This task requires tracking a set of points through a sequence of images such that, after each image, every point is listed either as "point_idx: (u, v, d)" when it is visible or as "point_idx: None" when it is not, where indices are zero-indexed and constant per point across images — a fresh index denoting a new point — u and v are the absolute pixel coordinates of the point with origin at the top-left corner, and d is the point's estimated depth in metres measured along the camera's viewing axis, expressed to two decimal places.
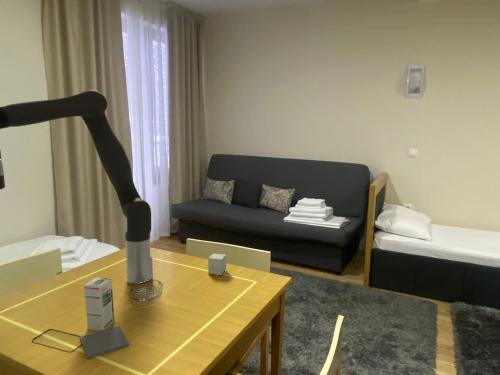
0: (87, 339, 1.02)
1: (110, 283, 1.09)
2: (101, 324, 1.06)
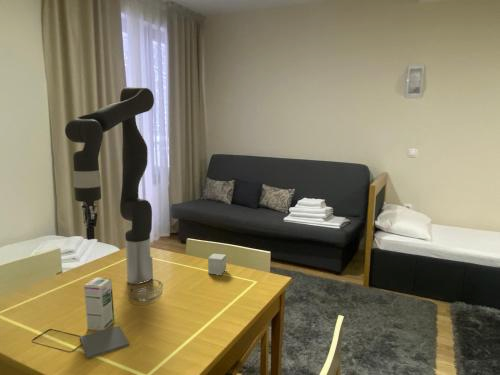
0: (87, 339, 1.02)
1: (110, 283, 1.09)
2: (101, 324, 1.06)
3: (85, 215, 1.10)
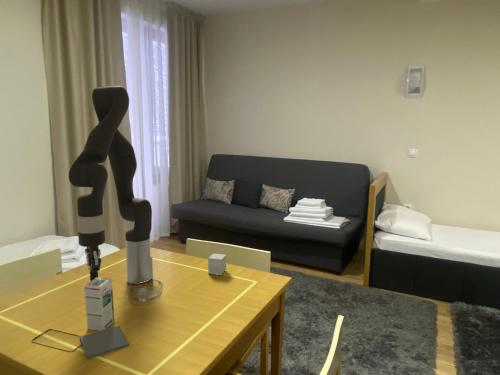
0: (87, 339, 1.02)
1: (110, 283, 1.09)
2: (101, 324, 1.06)
3: (89, 259, 1.09)
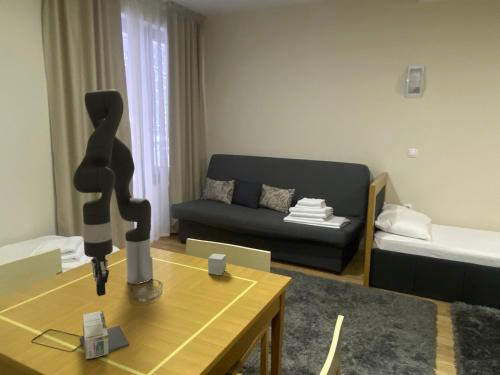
0: None
1: (107, 335, 0.95)
2: None
3: (95, 271, 1.01)
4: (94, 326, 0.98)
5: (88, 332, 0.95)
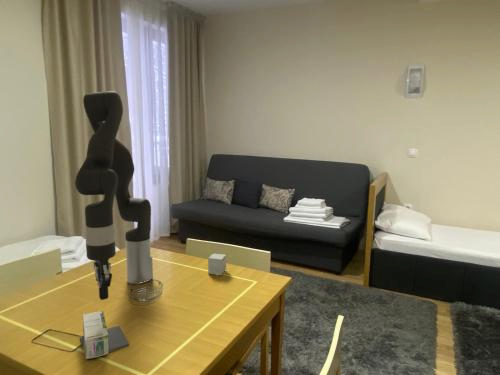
0: None
1: (107, 335, 0.95)
2: None
3: (98, 274, 0.99)
4: (94, 326, 0.98)
5: (88, 332, 0.95)
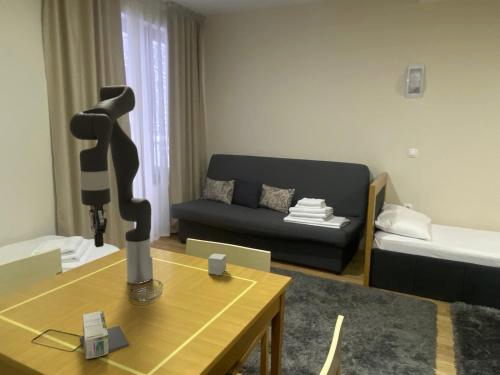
0: None
1: (107, 335, 0.95)
2: None
3: (93, 220, 0.99)
4: (94, 326, 0.98)
5: (88, 332, 0.95)
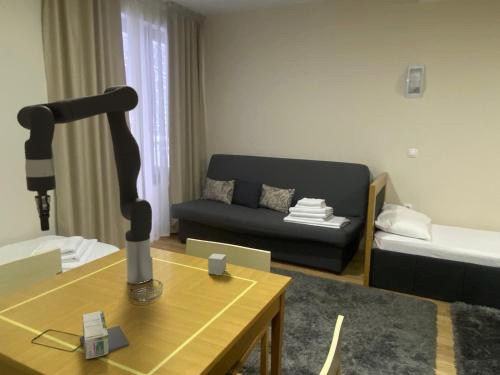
0: None
1: (107, 335, 0.95)
2: None
3: (38, 205, 1.06)
4: (94, 326, 0.98)
5: (88, 332, 0.95)
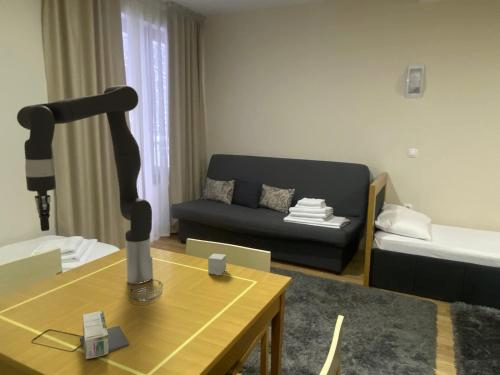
0: None
1: (107, 335, 0.95)
2: None
3: (38, 205, 1.06)
4: (94, 326, 0.98)
5: (88, 332, 0.95)
